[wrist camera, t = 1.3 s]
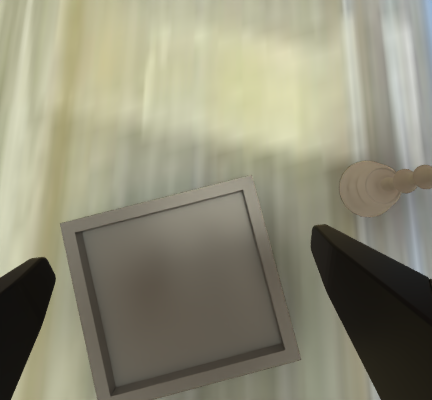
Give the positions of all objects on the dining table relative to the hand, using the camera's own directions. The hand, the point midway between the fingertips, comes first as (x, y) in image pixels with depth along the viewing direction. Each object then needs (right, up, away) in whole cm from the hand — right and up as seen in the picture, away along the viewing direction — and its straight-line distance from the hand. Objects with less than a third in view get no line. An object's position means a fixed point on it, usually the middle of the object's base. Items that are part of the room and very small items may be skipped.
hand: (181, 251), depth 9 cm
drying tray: (-2, -6, +14) cm, 16 cm away
